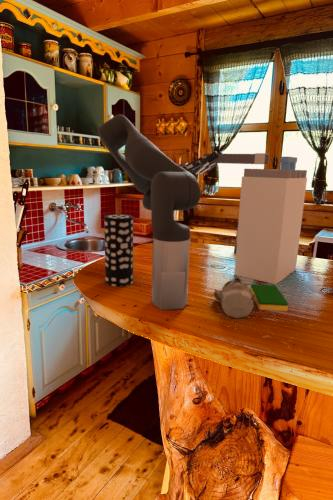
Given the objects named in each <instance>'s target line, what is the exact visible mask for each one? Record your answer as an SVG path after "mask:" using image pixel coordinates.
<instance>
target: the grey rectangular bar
mask: <svg viewBox="0 0 333 500" xmlns="http://www.w3.org/2000/svg"><path fill="white" fill-rule="evenodd" d="M210 154H211V153H203V154H202V158H203V157H205V156H208V155H210ZM269 160H270V153H267V152H266V153H265V152H262V153H261V152H260V153H259V152H258V153H222V154H218V158H216V159H215V160H213V161H211V162H209V163H217V164H235V165H238V164H239V165H240V164H241V165H269V162H270V161H269Z"/></svg>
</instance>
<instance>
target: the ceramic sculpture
mask: <svg viewBox="0 0 333 500" xmlns="http://www.w3.org/2000/svg"><path fill="white" fill-rule="evenodd" d="M213 296H214V298H215V299H216V300H217V301H218V302H221V303H220V304H221V308H222V311H223V312H224V314H225V315H226V316H228V317H231V318H235V319H239V318H246V317H247V316H249V315H250V314H251V312H252V311H253V308H254V302H253V301H254V297H255V295H254V294H253V295H252V293H251V291H250V290H249V288H248V285H247V284H246V283H245V282H243V281H242V280H241V279H240V278H238V277H236V278H234V280H233V279H232V280H231V279H230V280H228V281H227V282H225V283H224V285H223V287H222V288H221V290H219V289H214V292H213Z"/></svg>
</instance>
